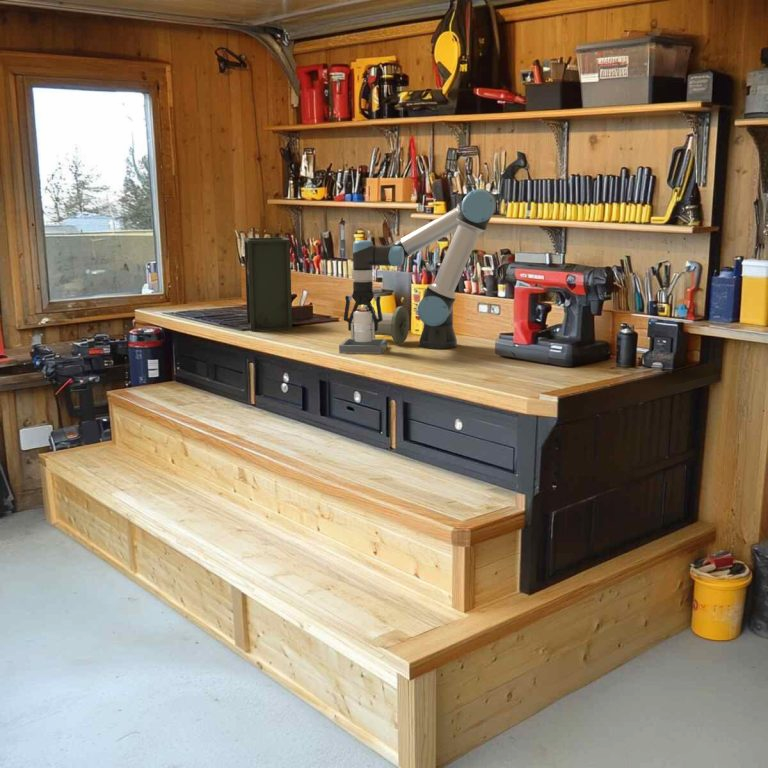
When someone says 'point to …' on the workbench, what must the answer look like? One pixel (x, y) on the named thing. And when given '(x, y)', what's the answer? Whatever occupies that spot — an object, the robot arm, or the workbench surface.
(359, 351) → the tray
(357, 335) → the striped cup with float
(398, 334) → the spool
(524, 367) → the workbench surface
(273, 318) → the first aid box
